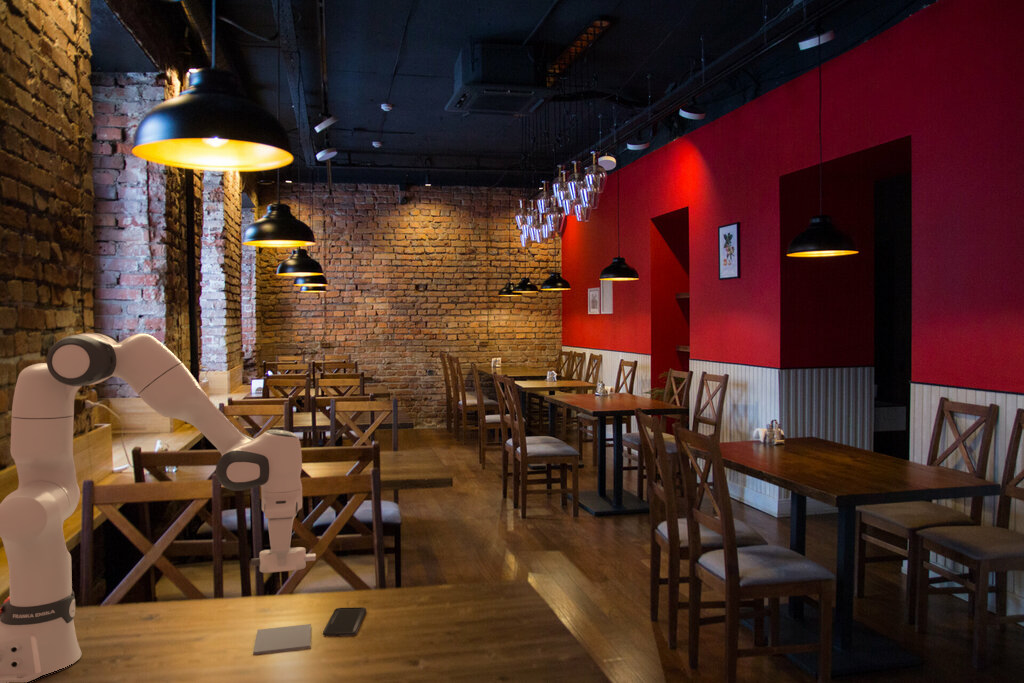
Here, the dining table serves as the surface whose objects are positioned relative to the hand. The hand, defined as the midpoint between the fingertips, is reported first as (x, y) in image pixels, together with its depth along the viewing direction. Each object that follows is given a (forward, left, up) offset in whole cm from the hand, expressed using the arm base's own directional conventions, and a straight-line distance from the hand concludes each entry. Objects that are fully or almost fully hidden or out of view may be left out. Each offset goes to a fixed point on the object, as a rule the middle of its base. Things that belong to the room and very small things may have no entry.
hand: (282, 561), depth 163 cm
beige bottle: (0, 0, -2) cm, 2 cm away
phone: (+14, +6, -19) cm, 24 cm away
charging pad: (0, 0, -18) cm, 18 cm away
